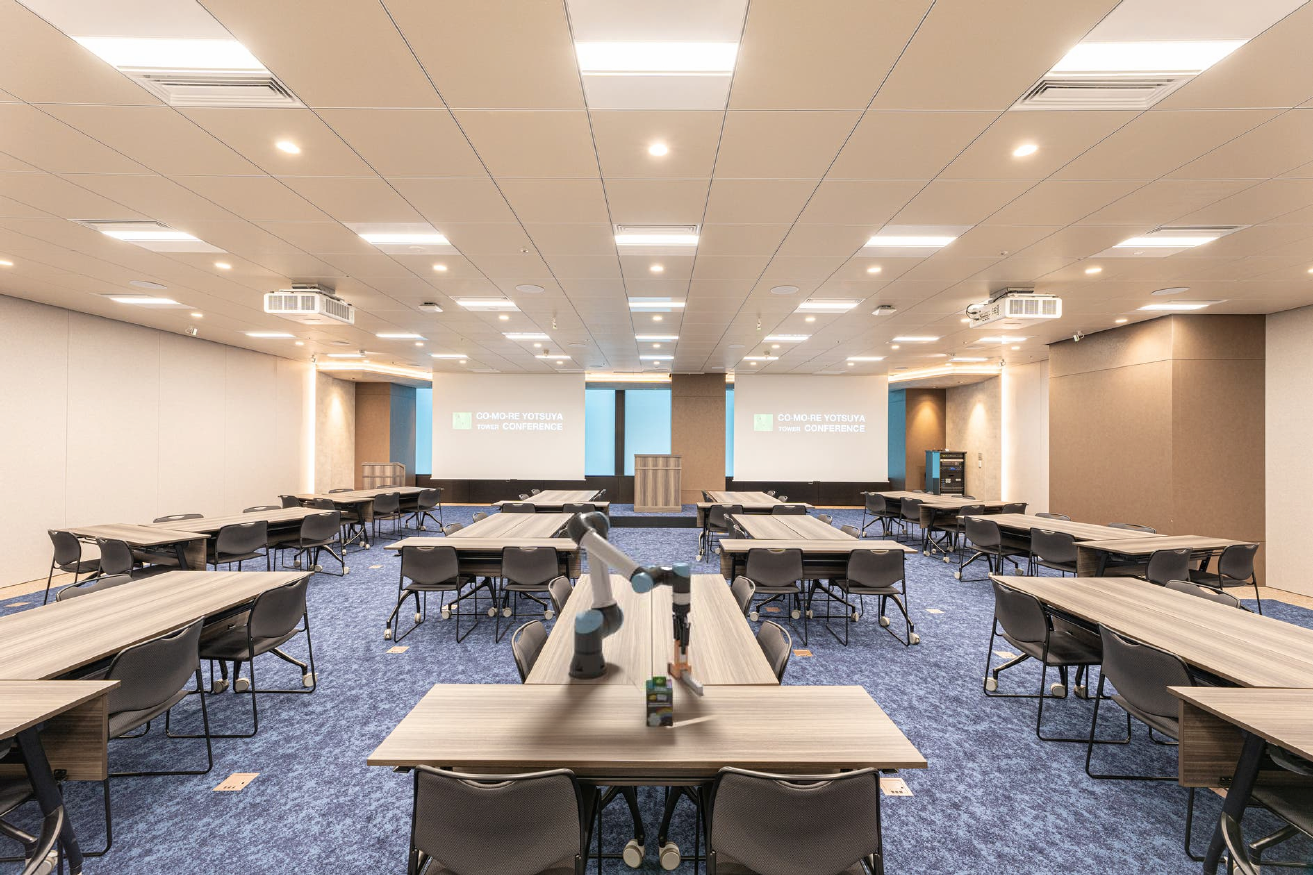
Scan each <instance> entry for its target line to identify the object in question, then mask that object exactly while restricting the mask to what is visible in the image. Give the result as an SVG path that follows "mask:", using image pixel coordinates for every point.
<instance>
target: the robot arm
mask: <svg viewBox="0 0 1313 875" xmlns="http://www.w3.org/2000/svg"><path fill="white" fill-rule="evenodd" d="M610 528H611V523H610V520H609V518H608V516H607V515H605V513H604V512H601V511H591V512H584V513H578V514H575V515H574V516H572V517H570V519H569V521H568V524H567V528H566V529H567V530H566V531H567V535H568V536H569V539H571V541H572V542H573V543H574V544H575V545H576V546H578V547H580V548H581V549H585V551H586V552H585V553H586V558H587V564H588V565H587V566H588V572H589V573H588V574H589V578H590V585H591V586H590V587H591V592H592V600H593V602H592V604H591V605H590V609H587V610H583V611H581V612H579V613H578V614H577V615H576V616H575V617H574V625H573V629H574V633H573V634H574V635H573V636H574V637H573V638H574V639H573V641H574V642H573V650H574V651H573V655H572V658H571V660H570V663H569V672H568V673H569V674H570V676H572V677H574V678H577V679H582V680H583V679H584V680H586V679H587V680H589V679H596V678H598V677H601V676H602V675H605V673H606V672H607V663H606V662H607V661H606V659H605V656H604V653H603V640H605V639H606V638H608V637H609V636H611V635H614V634H615V633H616V632H618V631H619V630H620V629H621V628H622V627H623V624H624V620H625V615H624V612H623V609H622V608H620V605H618V602H617V600H616V599H614V597H613V591H612V585H611V584H612V583H611V576H610V571H609V567H610V568H611V569H612V570H614V571H615V572H616V573H618V574H619V575H620V576H622V577H623V578H624V579H625V580H627V581H628V582H629V583H630V584H631V588H632V590H633V591H634V592H635V593H636V594H640V595H643V594H645V593H649V592H651V591H652V590H654V589H656V588H658V587H661V586H667V587H672V588H671V590H672V591H671V592H672V594H671V597H672V599H671V600H672V601H671V602H672V604H671V606H672V607H671V611H672V612H673V614H671V617H672V631H673V632H672V633H673V635H672V636H673V640H674V641H678V640H680V645H679V663H682V662H686V646H688V647H690V633H691V626H692V623H691V622H689V620H688V619H689V618H688V614H690V613H691V608H692V607H691V602H692V601H691V598H692V595H691V594H692V593H691V592H692V591H691V586H692V584H691V582H692V573H691V568H692V567H691V565H690V564H689V563H687V562H675V563H673V564H672V567H670V566H663V565H662V566H661V565H656V564H655V565H652V564H651V565H647V567H646V568H644V567H642V566H641V565H640V564H638V563H637V562H635V561H634V559H631V557H629V556H628V555H626V554H625V553H623V552H622V551H621V550H620V549H619V548H617V547H615V546H614V545H613V544H612V543H610V541H608V535H607V534H608V533H609V531H610Z"/></svg>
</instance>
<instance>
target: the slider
mask: <svg viewBox="0 0 1313 875" xmlns="http://www.w3.org/2000/svg"><path fill="white" fill-rule="evenodd" d="M673 644H674V645H673V658H674V659H673V661H670V662H671V663H670V672H669V673H671V674H672V676H674V677H675V678H676V679H682V677H681V670H686V671H687V672H688V673H689V674H690V675H691V676H692V664H690V662H689V661H688V660H689V655H688V654H689V651H688V650H689V646H686V662H682V663H679V645H680V640H678V641H675V640H674V641H673Z"/></svg>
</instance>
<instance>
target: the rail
mask: <svg viewBox="0 0 1313 875" xmlns="http://www.w3.org/2000/svg"><path fill="white" fill-rule="evenodd" d="M671 662H672V661H669V662H667V665H666V666H667V668H666V671H667V672H668V673H671V672H670V663H671ZM681 679H682V680H683V681H685V682H686V684H688V686H690V687H691V689H693V691H695V692H696V693H697V694H698V695H699V694H703V693H704V686H703V685H702V684H701V683H700V682H699V681H698V680H697V679H696V678H695V677H694V676H693V675H692V674H691V675H690V674H689V673H688V672H687V671H686V670H681Z"/></svg>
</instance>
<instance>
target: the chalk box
mask: <svg viewBox="0 0 1313 875" xmlns="http://www.w3.org/2000/svg"><path fill="white" fill-rule="evenodd" d="M645 704H646V705H645V710H646V711H645V721H646V722H645V724H646V725H645V726H646V727H673V726H674V689H673V682H672V679H671V678H670V679H669V678H668V679H667V677H666V676H653V677H652V679H646V680H645Z"/></svg>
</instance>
